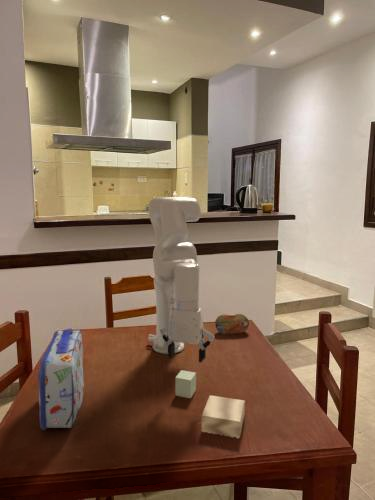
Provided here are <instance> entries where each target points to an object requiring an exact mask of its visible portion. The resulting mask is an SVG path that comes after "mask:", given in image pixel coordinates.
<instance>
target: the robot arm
mask: <svg viewBox="0 0 375 500" xmlns="http://www.w3.org/2000/svg"><path fill="white" fill-rule="evenodd" d="M147 209H148V216H149V219H150V222H151V225H152V227H153V231H154V236H155V246H154V249H153V253H152V263H153V272H154V273H153V274H154V277H153V285H154V287H153V288H154V292H155V305H156V307H155V308H156V309H155V311H156V315H155V316H156V319H155V320H156V324H155V325H156V334H151V333H149V334H148V335H147V339H148V340H147V341H148V342H153V344H152V349H153V350H154V352H156V353H159V354H162V355H168V357H169V359H171V358H173V357H174V356H175V354H177V353H179V352H182V351H183V350H184V349H185V344H190V345H197V346H198V347H199V350H198V363H203V361H204V360H205V359H206V352H207V347H209V346H210V345H211V343H212V342H213V340H214V339H215V334H214V333H212V332H210V331H209V330H208V329H206V328H205V327H204V319H203V313H202V308H201V307H200V266H199V264H198V253H197V249H196V247H195V245H194V244H193V243H192V242H188V241H187V242H185V241H186V240H187V239H188V238H189V237H188V236H189V231H188V226H187V223H189V222H191V223H193V222H198V221H199V219H200V217H201V211H202V210H201V205H200V203H199V201H198V200H197V199H196V198H195V197H194V198H193V197H189V196H159V197H153V198H151V199H150V200H149V202H148V207H147ZM204 337H207V340H206V341H205V339H204Z"/></svg>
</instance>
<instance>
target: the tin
mask: <svg viewBox="0 0 375 500" xmlns="http://www.w3.org/2000/svg"><path fill="white" fill-rule="evenodd" d="M214 326H215V329H216V330H217V332H218V333H220V334H222V335H226V334H227V335H228V334H242V333H245V332H246V331H247V330H248V328H249V326H250V321H249V319H248V317H247V316H246V315H244V314H243V313H230V314H229V313H227V314H226V313H225V314H221V315H220V314H219V315H218V316H217V317H216V319H215V322H214Z"/></svg>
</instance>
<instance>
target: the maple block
mask: <svg viewBox="0 0 375 500" xmlns="http://www.w3.org/2000/svg"><path fill="white" fill-rule="evenodd" d="M245 402H246V400H245V399H244V400H243V399H239V398H237V399H236V398H229V397H225V396H224V397H223V396H218V395H210V394H209V396H208V398H207V401H206V404H205V407H204V409H203V411H202V414H201V432H202V433H206V432H207V434H211V433H212V435H217V434H219V436H223V435H224V437H228V436H229V438H234V437H236V438H235V439H239V438H241V433H242V429H243V424H244V418H245V409H246V408H245V404H246V403H245Z"/></svg>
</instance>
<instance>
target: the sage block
mask: <svg viewBox="0 0 375 500" xmlns="http://www.w3.org/2000/svg"><path fill="white" fill-rule="evenodd" d="M196 391H197V372H196V371H195V372H193V371H187V370H182V369H181V370H180V371H179V372H178V373H177V375H176V376H175V396H177V397H181V398H187V399H192V398H193V396H194V394H195V393H196Z"/></svg>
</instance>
